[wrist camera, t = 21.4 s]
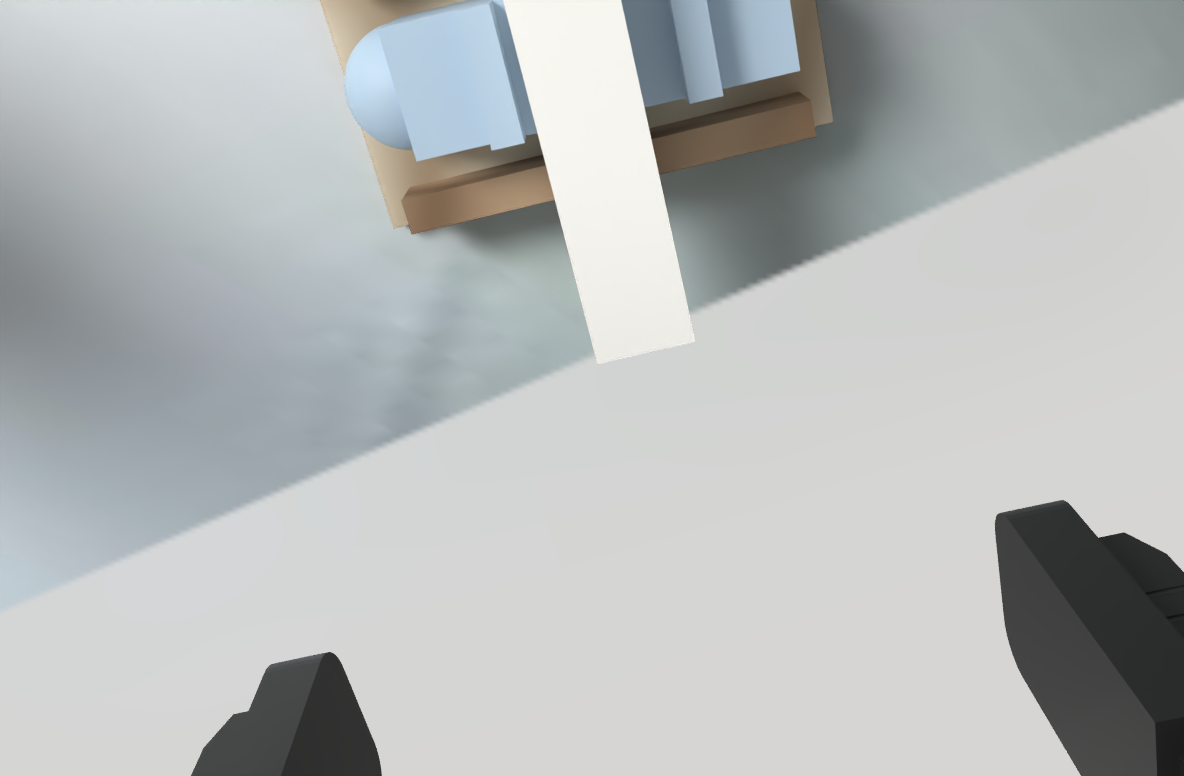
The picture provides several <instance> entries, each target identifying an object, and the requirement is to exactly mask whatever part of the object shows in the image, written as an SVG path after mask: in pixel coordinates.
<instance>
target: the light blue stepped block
mask: <svg viewBox="0 0 1184 776" xmlns="http://www.w3.org/2000/svg"><path fill="white" fill-rule="evenodd" d="M621 2H622V7H623V11H624V16H625V20H626V25H627V30H628V34H629V39H630V43H631V48H632V53H633V57H634V62H635V66H636V71H637V76H638V80H639V85H640V89H641V94H642V98H643V103H644V108H645V107H649V106H653V105H657V104H662V103H666V102H670V101H674V100H679V99H683V98H687V100H688V102H689V103H690V104H692V103H696V102H700V101H704V100H708V99H713V98H717V97H721V96H723V90H722V89H725V88H729V87H733V86H738V85H742V84H746V83H750V82H755V81H759V80H763V79H767V78H772V77H776V76H780V75H784V74H788V73H793V72H797V71H800V66H799V59H798V52H797V45H796V38H795V32H794V25H793V18H792V11H791V4H790V0H621ZM344 87H345V95H346V99H347V103H348V106H349V108H350V111H351V113H352V115H353V116H354V118H355V120H356V121H357V123H358V124H359V125H360V126H361V128H362V129H363V130H364V131H365V132H366V133H367V134H369V135H370V136H371V137H372V138H374V139H375V140H377V141H378V142H380V143H382V144H384V145H387V146H389V147H392V148H396V149H402V150H413V151H414V155H415V158H416V162H417V161H421V160H425V159H429V158H434V157H438V156H442V155H446V154H451V153H455V152H459V151H463V150H467V149H472V148H476V147H480V146H484V145H489V144H490V146H491V150H492V151H493V150H497V149H501V148H505V147H510V146H514V145H518V144H522V143H525V138H526V136H527V135H531V134H535V133H537V129H536V125H535V122H534V118H533V114H532V110H531V106H530V102H529V99H528V95H527V91H526V87H525V83H524V79H523V75H522V72H521V68H520V64H519V60H518V56H517V52H516V48H515V45H514V41H513V37H512V33H511V29H510V25H509V22H508V18H507V14H506V10H505V6H504V2H503V0H466V1H462V2H458V3H454V4H450V5H446V6H442V7H438V8H434V9H430V10H426V11H422V12H418V13H414V14H410V15H406V16H402V17H399V18H397V19H395V20H394V21H392V22H390V23H387V24H384V25H381V26H379V27H377V28H375V29H373V30H372V31H370V32H369V33H368V34H366V35H365V36H364V37H363V38H362V39H361V40H360V41H359V43H358V44H357V45H356V46H355V48H354V50H353V51H352V53H351V55H350V57H349V60H348V62H347V66H346V70H345V84H344Z"/></svg>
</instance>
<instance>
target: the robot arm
mask: <svg viewBox="0 0 1184 776" xmlns="http://www.w3.org/2000/svg"><path fill="white" fill-rule="evenodd" d="M995 534H996V543H997V554H998V563H999V573H1000V583H1001V593H1002V602H1003V612H1004V621H1005V627H1006V632H1007V637H1008V640H1009V644H1010V647H1011V650H1012V654H1013V656H1014V659H1015V662H1016V664H1017V666H1018V669H1019V671H1020V673H1021V675H1022V676H1023V678H1024V680H1025V682H1026V683H1027V685H1028V687H1029V688H1030V690H1031V692H1032V693H1033V695H1034V697H1035V699H1036V700H1037V702H1038V704H1039V705H1040V707H1041V709H1042V710H1043V712H1044V714H1045V716H1046V717H1047V719H1048V720H1049V722H1050V724H1051V725H1052V727H1053V729H1054V731H1055V732H1056V734H1057V736H1058V737H1059V739H1060V741H1061V742H1062V744H1063V746H1064V748H1065V749H1066V751H1067V753H1068V754H1069V756H1070V758H1071V759H1072V761H1073V763H1074V765H1075V766H1076V768H1077V770H1078V771H1079V773H1080V775H1081V776H1184V572H1183V571H1182V570H1181V569H1180V568H1179V567H1178V566H1177V565H1176V564H1175V563H1174V561H1173V560H1172V559H1171V558H1170V557H1169V556H1168V555H1167V554H1166V553H1164V552H1162V551H1160V550H1158V549H1156V548H1154V547H1152V546H1150V545H1148V544H1146V543H1144V542H1142V541H1140V540H1138V539H1136V538H1134V537H1132V536H1130V535H1128V534H1126V533H1119V534H1115V535H1110V536H1105V537H1100V538H1098V537H1097V536H1096V535H1095V534H1094V532H1093V531H1092V530H1091V529H1090V528H1089V526H1088V525H1087V524H1086V523H1085V522H1084V521H1083V519H1082V518H1081V517H1080V516H1079V515H1078V514H1077V512H1076V511H1075V510H1074V509H1073V508H1072V506H1071V505H1070V504H1069V503H1067V502H1066V501H1064V500H1060V501H1055V502H1051V503H1046V504H1042V505H1036V506H1032V507H1027V508H1022V509H1017V510H1013V511H1008V512H1003V513H999V514H998V515H997V516H996V520H995ZM191 776H382V774H381V766H380V761H379V756H378V752H377V748H376V746H375V743H374V741H373V738H372V736H371V733H370V731H369V729H368V726H367V724H366V721H365V719H364V717H363V714H362V712H361V709H360V707H359V705H358V702H357V700H356V697H355V695H354V692H353V690H352V687H351V685H350V683H349V680H348V678H347V675H346V673H345V671H344V668H343V666H342V664H341V662H340V660H339V659H338V657H337V656H336V655H335V654H333V653H331V652H328V653H322V654H318V655H313V656H308V657H303V658H299V659H294V660H289V661H284V662H279V663H275V664H271V665H270V666H269V667H268V668H267V669H266V671H265V673H264V675H263V678H262V680H261V683H260V685H259V688H258V690H257V692H256V695H255V697H254V699H253V702H252V704H251V707H250V709H249V711H247V712H243V713H238V714H234V715H233V716H232V717H231V718H230V719H229V720H228V721H227V722H226V724H225V725H224V726H223V727H222V728H221V729H220V730H219V731H218V732H217V734H216V735H215V736H214V737H213V738H212V739H211V740H210V741H209V743H208V744H207V745H206V746H205V747H204V748H203V750H202V753H201V755H200V758H199V759H198V762H197V764H196V766H195V768H194V770H193V773H192V775H191Z"/></svg>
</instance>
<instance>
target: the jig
mask: <svg viewBox="0 0 1184 776" xmlns="http://www.w3.org/2000/svg"><path fill="white" fill-rule="evenodd" d="M462 1H466V0H320V2H321V5H322V9H323V12H324V15H325V18H326V21H327V24H328V27H329V30H330V33H331V36H332V39H333V43H334V46H335V49H336V52H337V55H338V58H339V61H340V64H341V67H342V70H343V73H344V76H345V70H346V66H347V62H348V60H349V57H350V55H351V53H352V51H353V50H354V48H355V46H356V45H357V44H358V43H359V41H360V40H361V39H362V38H363V37H364V36H365V35H366V34H368V33H369V32H370V31H372V30H373V29H375V28H377V27H379V26H381V25H384V24H387V23H390V22H392V21H394V20H395V19H397V18H399V17H402V16H406V15H410V14H414V13H418V12H422V11H426V10H430V9H434V8H438V7H442V6H446V5H450V4H454V3H458V2H462ZM790 4H791V11H792V18H793V25H794V32H795V38H796V45H797V52H798V59H799V66H800V71H797V72H793V73H788V74H784V75H780V76H776V77H772V78H767V79H763V80H759V81H755V82H750V83H746V84H742V85H738V86H733V87H729V88H725V89H722V90H723V96H721V97H717V98H713V99H708V100H704V101H700V102H696V103H692V104H690V103H689V102H688V100H687V98H683V99H679V100H674V101H670V102H666V103H662V104H657V105H653V106H649V107H645V112H646V117H647V121H648V126H649V131H650V135H651V140H652V144H653V149H654V154H655V158H656V163H657V167H658V172H659V175H660V174H664V173H668V172H672V171H676V170H680V169H684V168H688V167H693V166H697V165H701V164H705V163H709V162H713V161H717V160H722V159H726V158H730V157H734V156H738V155H742V154H746V153H750V152H755V151H759V150H763V149H767V148H771V147H775V146H779V145H783V144H788V143H792V142H796V141H800V140H804V139H808V138H812V137H816V130H815V126H819V125H823V124H827V123H831V122H833V115H832V109H831V102H830V95H829V88H828V81H827V75H826V68H825V61H824V54H823V48H822V41H821V34H820V27H819V20H818V14H817V7H816V0H790ZM361 129H362V128H361ZM362 132H363V135H364V138H365V141H366V144H367V147H368V151H369V154H370V157H371V160H372V163H373V166H374V169H375V172H376V175H377V178H378V181H379V184H380V188H381V191H382V194H383V197H384V200H385V203H386V206H387V209H388V212H389V215H390V218H391V222H392V225H393V228H394V229H395V228H399V227H403V226H407V225H409V228H410V231H411V234H416V233H420V232H424V231H428V230H432V229H436V228H441V227H445V226H449V225H453V224H457V223H461V222H465V221H469V220H474V219H478V218H482V217H486V216H490V215H494V214H498V213H503V212H507V211H511V210H515V209H519V208H523V207H527V206H531V205H536V204H540V203H544V202H548V201H552V200H555V199H554V195H553V191H552V187H551V183H550V179H549V175H548V172H547V168H546V164H545V160H544V156H543V152H542V149H541V145H540V141H539V137H538V133H535V134H531V135H527V136H526V138H525V143H522V144H518V145H514V146H510V147H505V148H501V149H497V150H493V151H492V150H491V146H490V144H489V145H484V146H480V147H476V148H472V149H467V150H463V151H459V152H455V153H451V154H446V155H442V156H438V157H434V158H429V159H425V160H421V161H417V162H416V158H415V155H414V151H413V150H402V149H396V148H392V147H389V146H387V145H384V144H382V143H380V142H378V141H377V140H375V139H374V138H372V137H371V136H370V135H369V134H367V133H366V132H365V131H364V130H363V129H362Z"/></svg>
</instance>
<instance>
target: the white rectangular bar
mask: <svg viewBox="0 0 1184 776" xmlns="http://www.w3.org/2000/svg"><path fill="white" fill-rule="evenodd" d="M503 2H504V6H505V10H506V14H507V18H508V22H509V25H510V29H511V33H512V37H513V41H514V45H515V48H516V52H517V56H518V60H519V64H520V68H521V72H522V75H523V79H524V83H525V87H526V91H527V95H528V99H529V102H530V106H531V110H532V114H533V118H534V122H535V125H536V129H537V133H538V137H539V141H540V145H541V149H542V152H543V156H544V160H545V164H546V168H547V172H548V175H549V179H550V183H551V187H552V191H553V195H554V199H555V202H556V206H557V210H558V214H559V218H560V222H561V226H562V229H563V233H564V237H565V241H566V245H567V249H568V252H569V256H570V260H571V264H572V268H573V272H574V276H575V279H576V283H577V287H578V291H579V295H580V299H581V303H582V306H583V310H584V314H585V318H586V322H587V326H588V329H589V333H590V337H591V341H592V345H593V349H594V353H595V356H596V360H597V364H601V363H606V362H610V361H614V360H619V359H623V358H627V357H631V356H636V355H640V354H645V353H649V352H654V351H658V350H662V349H667V348H671V347H675V346H679V345H684V344H688V343H693V342H695V338H694V333H693V328H692V324H691V319H690V314H689V310H688V305H687V301H686V296H685V291H684V287H683V282H682V278H681V273H680V268H679V264H678V259H677V255H676V250H675V246H674V241H673V236H672V232H671V227H670V223H669V218H668V213H667V209H666V204H665V200H664V195H663V190H662V186H661V181H660V177H659V172H658V167H657V163H656V158H655V154H654V149H653V144H652V140H651V135H650V131H649V126H648V121H647V117H646V112H645V108H644V103H643V98H642V94H641V89H640V85H639V80H638V76H637V71H636V66H635V62H634V57H633V53H632V48H631V43H630V39H629V34H628V30H627V25H626V20H625V16H624V11H623V7H622V2H621V0H503Z"/></svg>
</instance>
